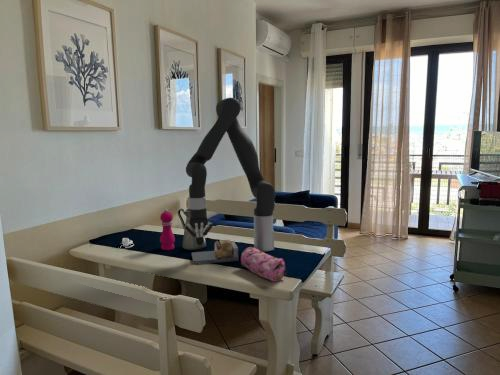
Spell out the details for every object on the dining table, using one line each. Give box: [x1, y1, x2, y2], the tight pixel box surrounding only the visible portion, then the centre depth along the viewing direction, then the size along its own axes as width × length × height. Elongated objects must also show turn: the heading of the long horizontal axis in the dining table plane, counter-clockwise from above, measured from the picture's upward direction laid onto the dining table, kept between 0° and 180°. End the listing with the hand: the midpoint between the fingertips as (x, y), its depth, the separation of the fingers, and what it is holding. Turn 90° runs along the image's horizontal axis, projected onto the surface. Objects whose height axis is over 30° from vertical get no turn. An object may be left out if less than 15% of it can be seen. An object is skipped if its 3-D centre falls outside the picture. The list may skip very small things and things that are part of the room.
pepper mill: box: [159, 208, 176, 251], centre depth 181 cm, size 7×7×20 cm
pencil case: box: [240, 246, 287, 282], centre depth 149 cm, size 21×9×9 cm, turn 37°
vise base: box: [191, 241, 240, 265], centre depth 168 cm, size 20×12×6 cm, turn 102°
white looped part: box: [120, 237, 135, 249], centre depth 188 cm, size 9×8×4 cm
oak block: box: [218, 239, 233, 256], centre depth 168 cm, size 5×5×6 cm
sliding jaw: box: [214, 240, 222, 258], centre depth 168 cm, size 2×10×5 cm, turn 12°
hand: (199, 244), depth 165 cm, fingers closed
